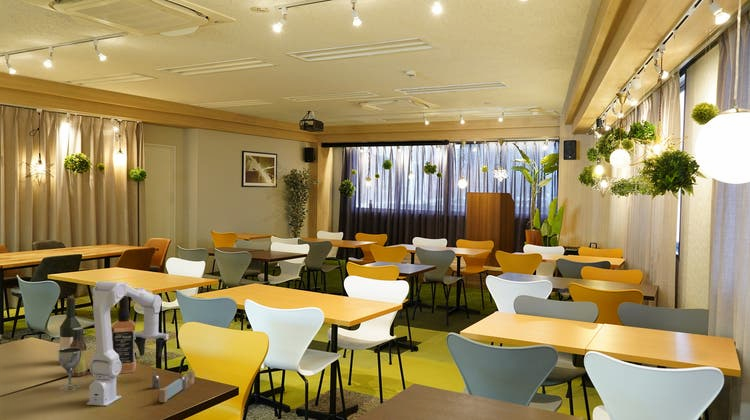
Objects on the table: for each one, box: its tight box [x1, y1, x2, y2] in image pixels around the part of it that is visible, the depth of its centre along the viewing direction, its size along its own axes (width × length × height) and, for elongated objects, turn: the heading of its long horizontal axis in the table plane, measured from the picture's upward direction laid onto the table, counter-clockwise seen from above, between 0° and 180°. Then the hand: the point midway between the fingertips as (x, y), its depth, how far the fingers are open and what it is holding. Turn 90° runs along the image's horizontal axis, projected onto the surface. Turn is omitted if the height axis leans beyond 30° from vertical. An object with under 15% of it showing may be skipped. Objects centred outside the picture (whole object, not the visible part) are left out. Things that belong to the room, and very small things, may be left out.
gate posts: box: [151, 374, 186, 392], centre depth 223 cm, size 2×13×5 cm, turn 82°
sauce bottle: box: [70, 326, 88, 378], centre depth 238 cm, size 7×6×20 cm
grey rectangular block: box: [158, 378, 182, 403], centre depth 214 cm, size 14×2×4 cm, turn 172°
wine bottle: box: [59, 295, 82, 350], centre depth 255 cm, size 8×8×30 cm
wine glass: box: [57, 347, 81, 392], centre depth 222 cm, size 8×8×15 cm
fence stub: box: [182, 370, 195, 390], centre depth 227 cm, size 8×2×5 cm, turn 172°
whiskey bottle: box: [111, 296, 137, 374], centre depth 246 cm, size 10×10×32 cm
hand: (150, 355), depth 234 cm, fingers open, 7 cm apart
